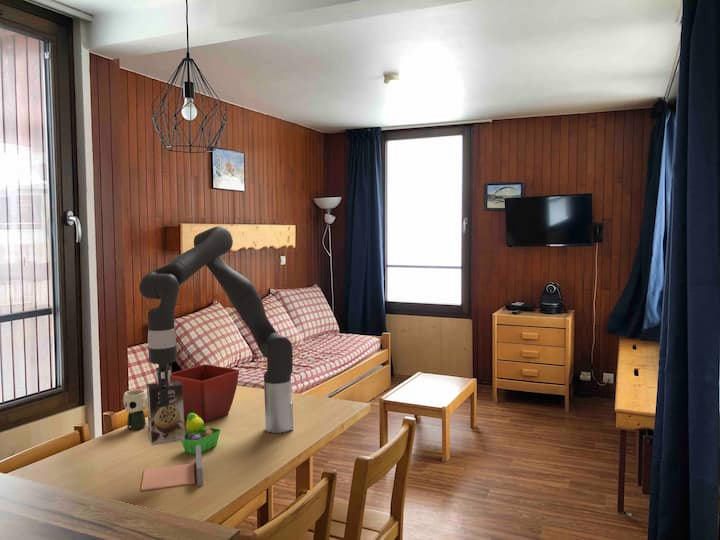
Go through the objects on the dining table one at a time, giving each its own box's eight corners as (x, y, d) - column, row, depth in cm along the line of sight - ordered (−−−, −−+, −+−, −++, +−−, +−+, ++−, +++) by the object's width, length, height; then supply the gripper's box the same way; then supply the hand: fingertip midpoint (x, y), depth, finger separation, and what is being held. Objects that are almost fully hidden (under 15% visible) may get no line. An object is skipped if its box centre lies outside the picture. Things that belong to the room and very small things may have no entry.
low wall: (201, 460, 181) (200, 444, 180) (203, 485, 164) (202, 467, 163) (196, 461, 180) (195, 445, 180) (197, 486, 163) (196, 468, 163)
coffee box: (151, 446, 164) (148, 389, 163) (148, 439, 170) (145, 383, 168) (185, 440, 168) (182, 384, 167) (181, 433, 174) (178, 379, 172)
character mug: (117, 429, 211) (115, 393, 210) (132, 422, 218) (130, 388, 216) (141, 433, 207) (139, 396, 206) (155, 426, 213) (153, 390, 212)
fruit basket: (195, 457, 184) (194, 421, 183) (176, 451, 189) (174, 417, 188) (222, 445, 194) (221, 411, 193) (203, 440, 198) (201, 407, 197)
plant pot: (242, 412, 226) (240, 369, 225) (204, 427, 210) (202, 381, 209) (206, 405, 237) (205, 363, 235) (168, 419, 221) (165, 374, 219)
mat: (193, 464, 178) (193, 463, 178) (194, 483, 165) (194, 482, 165) (144, 470, 174) (144, 469, 174) (141, 491, 161) (140, 489, 161)
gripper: (175, 348, 161) (178, 408, 162) (176, 339, 175) (179, 394, 176) (146, 351, 159) (149, 411, 160) (149, 341, 172) (152, 396, 174)
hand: (165, 402), depth 168 cm, fingers closed on coffee box, 7 cm apart
